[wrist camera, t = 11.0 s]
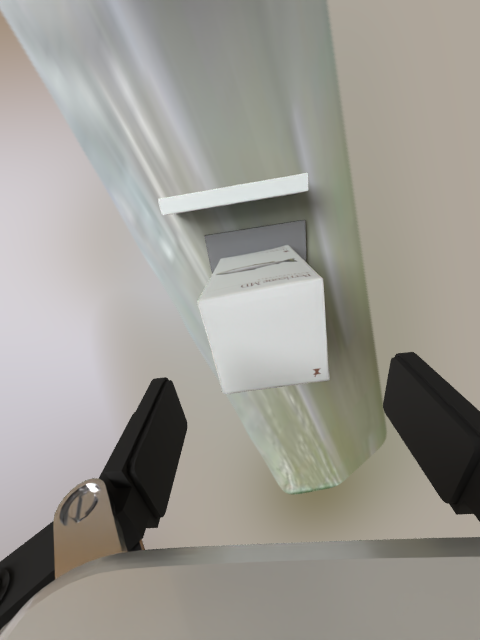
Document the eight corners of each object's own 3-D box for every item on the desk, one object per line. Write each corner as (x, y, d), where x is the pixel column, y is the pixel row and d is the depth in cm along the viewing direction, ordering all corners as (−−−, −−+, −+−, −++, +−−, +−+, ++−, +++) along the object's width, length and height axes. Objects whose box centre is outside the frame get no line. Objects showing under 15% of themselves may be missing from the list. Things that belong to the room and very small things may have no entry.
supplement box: (289, 242, 23) (330, 275, 12) (296, 309, 27) (332, 385, 15) (218, 256, 24) (193, 299, 13) (233, 319, 27) (222, 399, 16)
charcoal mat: (205, 235, 24) (204, 235, 23) (304, 219, 23) (305, 220, 23) (225, 336, 29) (225, 338, 29) (307, 327, 28) (308, 328, 28)
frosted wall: (171, 200, 22) (157, 198, 19) (297, 178, 21) (307, 172, 18) (175, 213, 23) (161, 215, 19) (298, 193, 22) (308, 190, 18)
